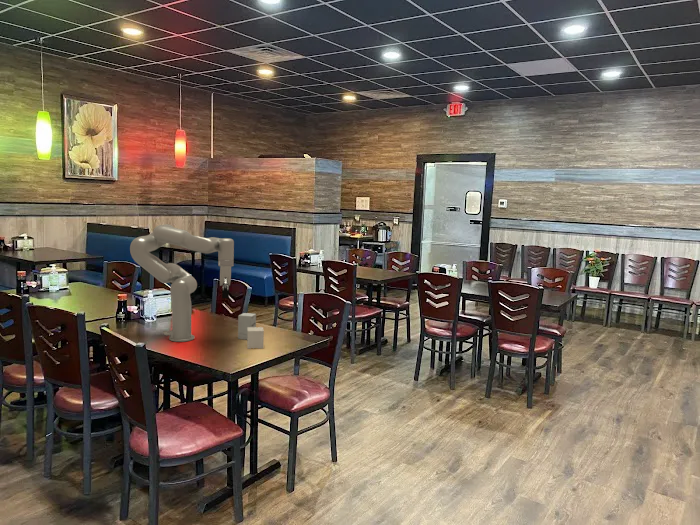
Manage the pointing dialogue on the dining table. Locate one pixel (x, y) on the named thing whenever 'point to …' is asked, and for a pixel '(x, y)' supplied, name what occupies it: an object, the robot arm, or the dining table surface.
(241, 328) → the supplement box
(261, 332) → the gray block
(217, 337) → the dining table surface
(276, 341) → the dining table surface
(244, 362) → the dining table surface
